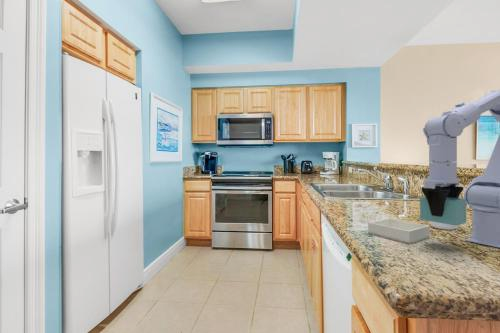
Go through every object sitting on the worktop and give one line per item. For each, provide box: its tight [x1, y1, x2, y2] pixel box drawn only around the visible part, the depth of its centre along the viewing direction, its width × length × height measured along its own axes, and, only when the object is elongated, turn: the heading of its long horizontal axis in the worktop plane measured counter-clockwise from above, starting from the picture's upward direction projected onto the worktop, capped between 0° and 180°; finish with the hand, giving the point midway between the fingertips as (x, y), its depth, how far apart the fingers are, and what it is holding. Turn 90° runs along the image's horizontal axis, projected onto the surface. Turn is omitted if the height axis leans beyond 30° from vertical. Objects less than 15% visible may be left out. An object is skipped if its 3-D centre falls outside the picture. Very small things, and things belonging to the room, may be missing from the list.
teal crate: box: [419, 196, 467, 226], centre depth 65 cm, size 6×8×6 cm
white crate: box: [367, 217, 431, 245], centre depth 76 cm, size 11×12×4 cm
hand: (442, 214), depth 65 cm, fingers closed on teal crate, 6 cm apart
